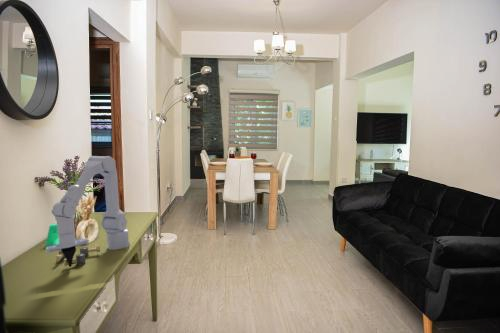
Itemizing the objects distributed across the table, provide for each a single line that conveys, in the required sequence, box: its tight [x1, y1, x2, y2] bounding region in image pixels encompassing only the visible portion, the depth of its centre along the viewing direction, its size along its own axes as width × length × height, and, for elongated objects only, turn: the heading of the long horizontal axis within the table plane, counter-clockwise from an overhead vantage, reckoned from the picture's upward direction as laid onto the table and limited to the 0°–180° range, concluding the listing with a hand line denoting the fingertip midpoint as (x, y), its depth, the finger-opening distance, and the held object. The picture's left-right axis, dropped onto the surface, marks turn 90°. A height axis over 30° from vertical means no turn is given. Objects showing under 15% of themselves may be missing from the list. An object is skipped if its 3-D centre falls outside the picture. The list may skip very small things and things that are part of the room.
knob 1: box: [55, 250, 66, 263], centre depth 140 cm, size 8×3×4 cm, turn 8°
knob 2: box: [63, 253, 86, 267], centre depth 135 cm, size 8×3×4 cm, turn 136°
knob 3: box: [79, 245, 101, 258], centre depth 145 cm, size 8×3×4 cm, turn 110°
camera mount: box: [45, 223, 59, 248], centre depth 163 cm, size 12×8×10 cm, turn 2°
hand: (69, 265), depth 132 cm, fingers closed
